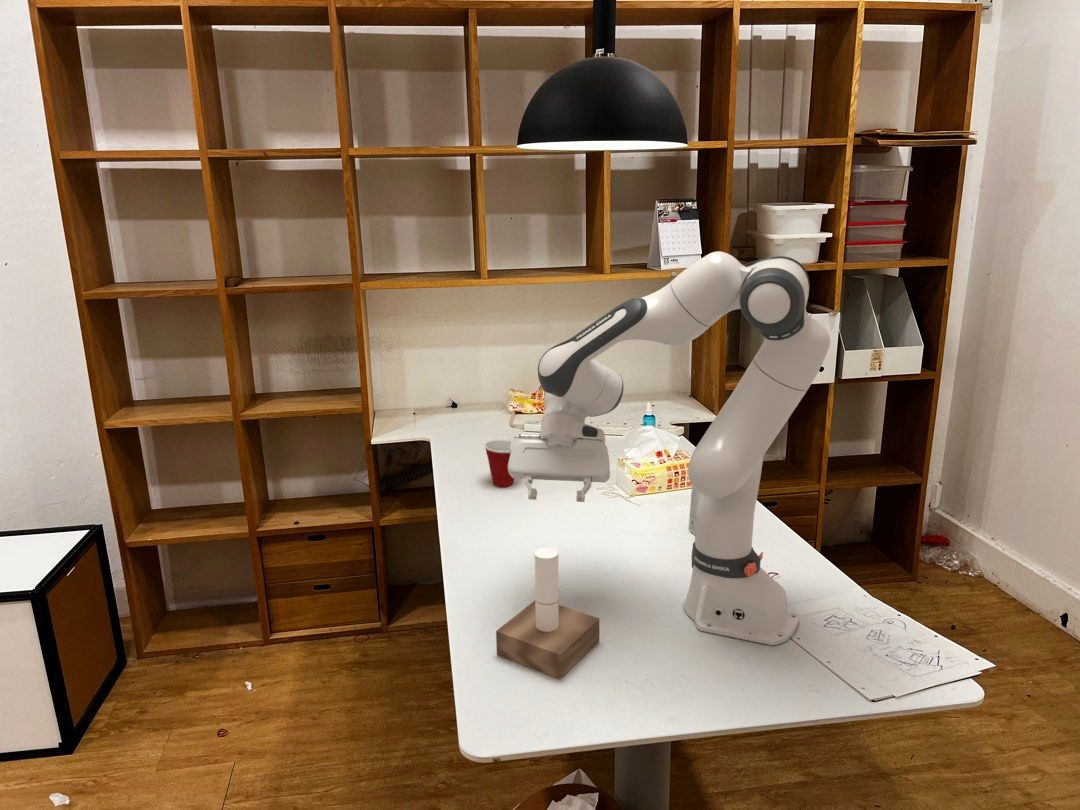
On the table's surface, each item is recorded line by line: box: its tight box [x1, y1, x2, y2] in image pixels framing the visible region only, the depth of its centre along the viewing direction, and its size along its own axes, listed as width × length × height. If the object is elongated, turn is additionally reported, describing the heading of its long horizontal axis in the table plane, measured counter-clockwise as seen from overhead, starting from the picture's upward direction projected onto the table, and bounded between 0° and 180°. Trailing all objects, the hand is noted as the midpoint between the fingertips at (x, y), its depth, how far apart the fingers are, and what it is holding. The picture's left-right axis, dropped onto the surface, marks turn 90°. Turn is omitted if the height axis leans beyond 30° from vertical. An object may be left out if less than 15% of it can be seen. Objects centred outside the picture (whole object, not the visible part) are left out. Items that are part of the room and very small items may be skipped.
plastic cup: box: [483, 439, 515, 489], centre depth 228 cm, size 11×11×12 cm
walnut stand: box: [495, 600, 601, 680], centre depth 151 cm, size 14×14×5 cm
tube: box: [534, 546, 560, 632], centre depth 148 cm, size 4×4×15 cm
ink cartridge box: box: [688, 484, 700, 536], centre depth 194 cm, size 10×6×14 cm, turn 15°
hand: (556, 499), depth 156 cm, fingers open, 8 cm apart
